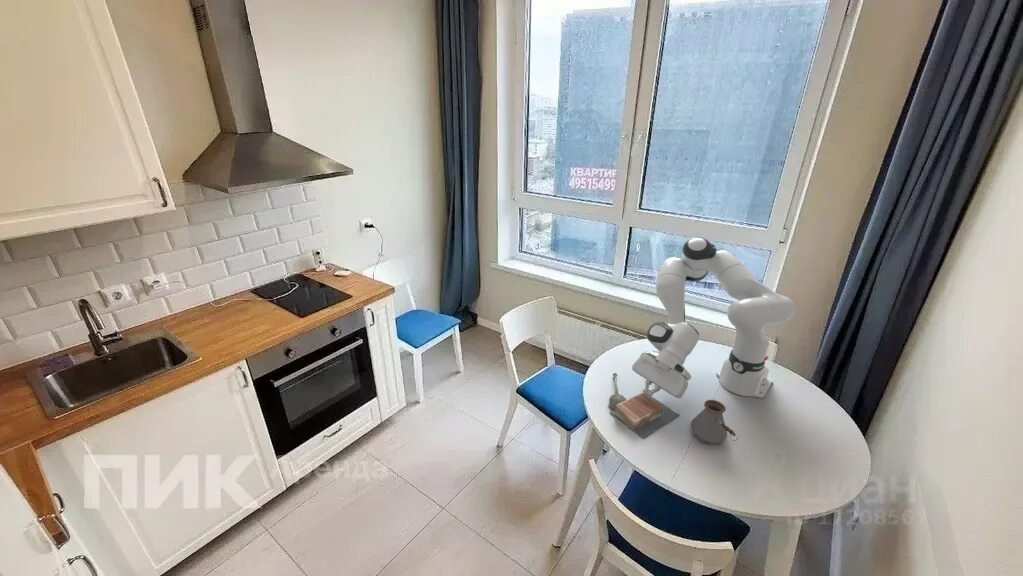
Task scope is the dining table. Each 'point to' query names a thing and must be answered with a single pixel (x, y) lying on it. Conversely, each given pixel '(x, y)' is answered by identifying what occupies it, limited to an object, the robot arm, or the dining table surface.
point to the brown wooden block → (638, 410)
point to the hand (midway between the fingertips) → (646, 394)
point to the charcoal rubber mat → (655, 424)
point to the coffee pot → (711, 424)
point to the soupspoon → (616, 396)
